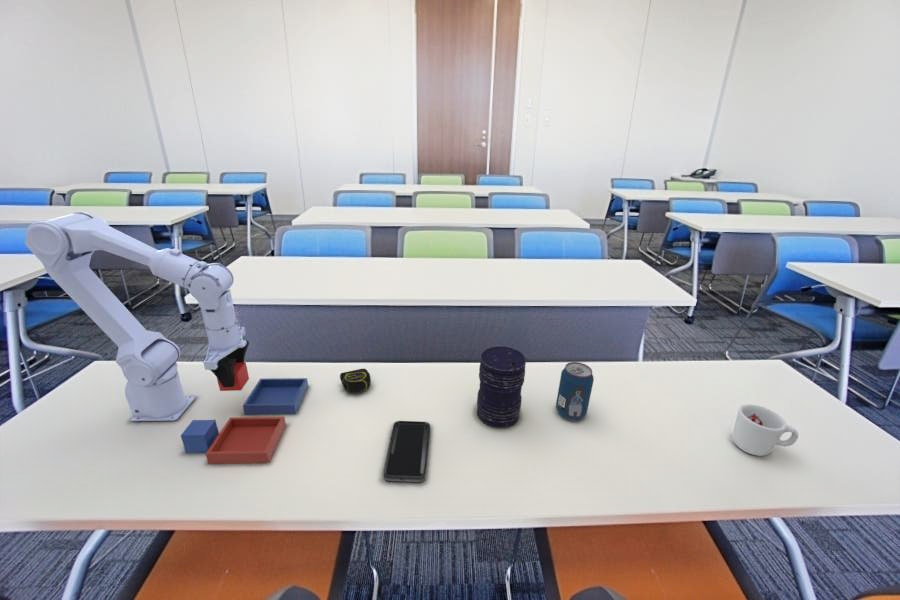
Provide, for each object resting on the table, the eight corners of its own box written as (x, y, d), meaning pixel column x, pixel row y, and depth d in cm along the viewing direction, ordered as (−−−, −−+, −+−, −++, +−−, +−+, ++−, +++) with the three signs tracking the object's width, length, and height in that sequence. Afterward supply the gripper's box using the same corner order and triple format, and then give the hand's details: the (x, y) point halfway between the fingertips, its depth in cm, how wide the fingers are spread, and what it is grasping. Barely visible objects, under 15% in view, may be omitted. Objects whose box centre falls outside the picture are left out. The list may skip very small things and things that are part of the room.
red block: (219, 390, 85) (215, 373, 83) (229, 379, 89) (225, 362, 87) (241, 390, 85) (237, 373, 84) (249, 378, 89) (245, 362, 88)
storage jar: (467, 411, 91) (470, 355, 85) (496, 395, 97) (501, 341, 91) (499, 435, 84) (505, 376, 78) (528, 416, 90) (536, 360, 84)
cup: (780, 442, 85) (794, 412, 82) (796, 469, 78) (812, 438, 75) (722, 429, 88) (734, 400, 85) (733, 454, 81) (746, 424, 78)
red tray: (208, 464, 75) (205, 453, 74) (232, 426, 84) (229, 417, 83) (268, 462, 76) (266, 452, 75) (286, 425, 85) (284, 416, 84)
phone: (430, 422, 86) (424, 478, 72) (430, 426, 86) (424, 482, 72) (393, 420, 86) (381, 476, 72) (394, 424, 86) (381, 480, 72)
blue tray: (244, 414, 88) (242, 405, 87) (261, 387, 97) (260, 378, 96) (296, 414, 89) (294, 404, 88) (308, 386, 98) (307, 378, 97)
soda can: (571, 400, 96) (579, 357, 91) (592, 418, 90) (602, 373, 86) (548, 407, 93) (555, 364, 88) (568, 426, 88) (577, 381, 83)
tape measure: (367, 377, 102) (366, 365, 101) (373, 392, 97) (373, 379, 95) (340, 383, 100) (339, 370, 98) (345, 398, 94) (344, 385, 92)
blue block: (185, 453, 77) (180, 435, 76) (197, 436, 81) (192, 419, 80) (209, 452, 78) (204, 435, 76) (219, 436, 82) (215, 419, 80)
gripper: (225, 341, 75) (238, 400, 80) (254, 309, 88) (264, 361, 94) (186, 341, 74) (202, 400, 80) (222, 309, 88) (233, 361, 93)
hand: (233, 379), depth 87 cm, fingers closed on red block, 4 cm apart
